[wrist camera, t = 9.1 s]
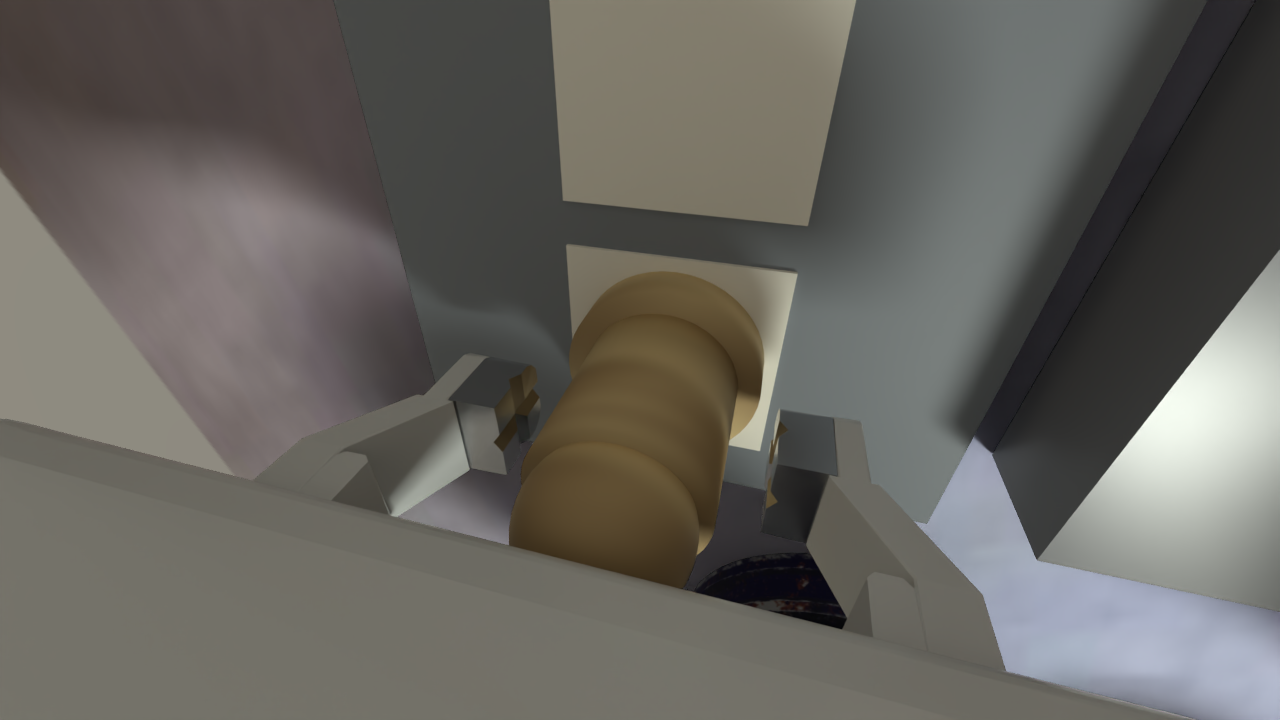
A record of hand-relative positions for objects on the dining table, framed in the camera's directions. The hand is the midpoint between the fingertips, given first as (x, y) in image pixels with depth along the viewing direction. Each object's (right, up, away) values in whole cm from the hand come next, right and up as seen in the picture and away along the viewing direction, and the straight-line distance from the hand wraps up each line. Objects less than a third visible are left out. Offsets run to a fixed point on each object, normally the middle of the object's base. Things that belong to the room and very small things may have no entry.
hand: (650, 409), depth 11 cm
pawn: (0, +1, +2) cm, 2 cm away
